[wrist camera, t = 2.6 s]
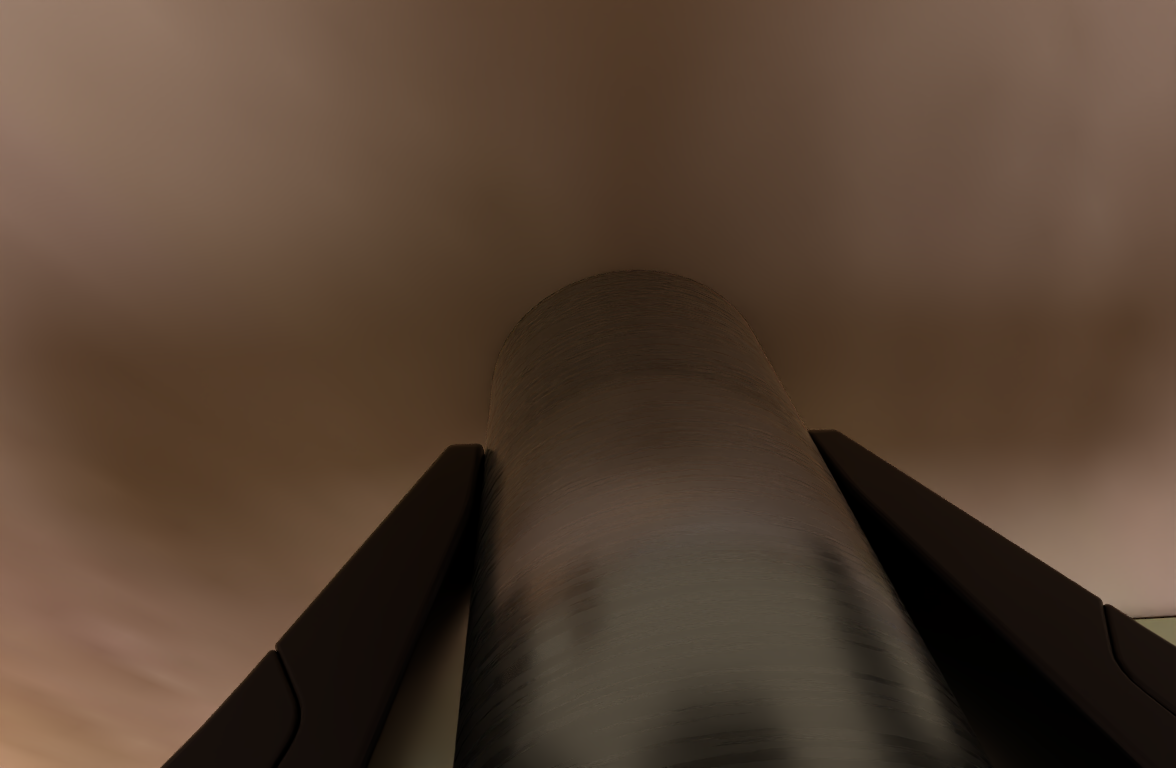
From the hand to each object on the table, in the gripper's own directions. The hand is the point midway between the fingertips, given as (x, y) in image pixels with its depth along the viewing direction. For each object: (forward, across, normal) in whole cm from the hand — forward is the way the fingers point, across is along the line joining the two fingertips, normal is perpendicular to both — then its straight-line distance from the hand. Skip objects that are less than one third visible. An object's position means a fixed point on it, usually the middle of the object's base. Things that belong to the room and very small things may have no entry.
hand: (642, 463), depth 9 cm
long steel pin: (+2, 0, 0) cm, 2 cm away
